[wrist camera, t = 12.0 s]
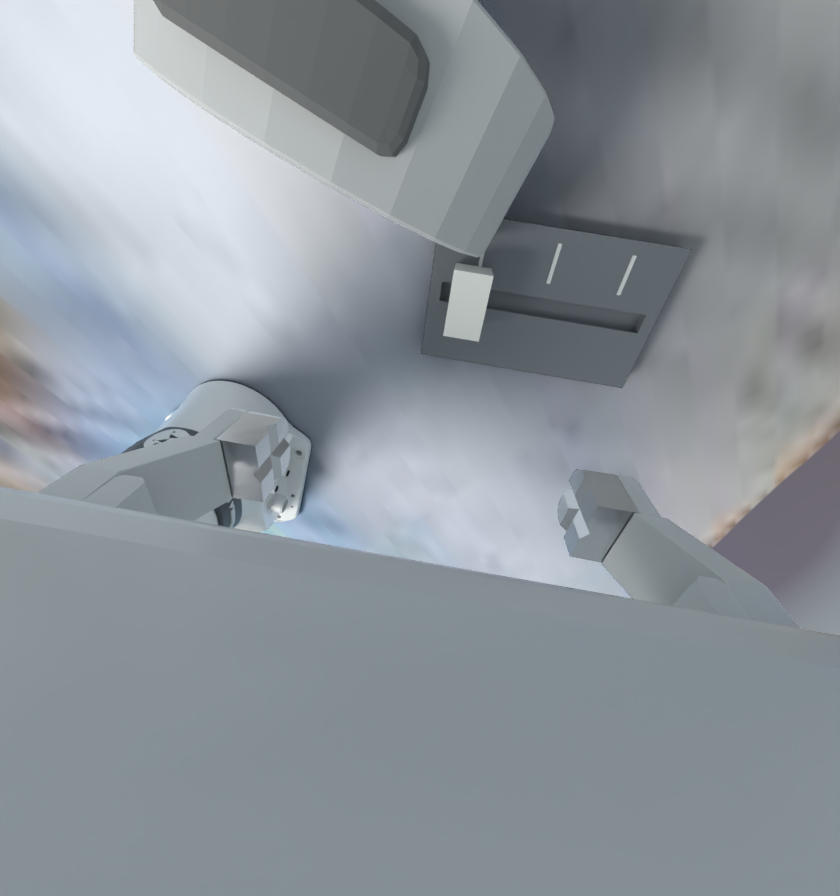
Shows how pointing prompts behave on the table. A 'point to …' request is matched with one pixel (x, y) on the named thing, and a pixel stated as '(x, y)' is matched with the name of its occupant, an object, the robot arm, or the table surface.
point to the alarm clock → (366, 99)
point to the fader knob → (468, 301)
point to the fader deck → (558, 301)
